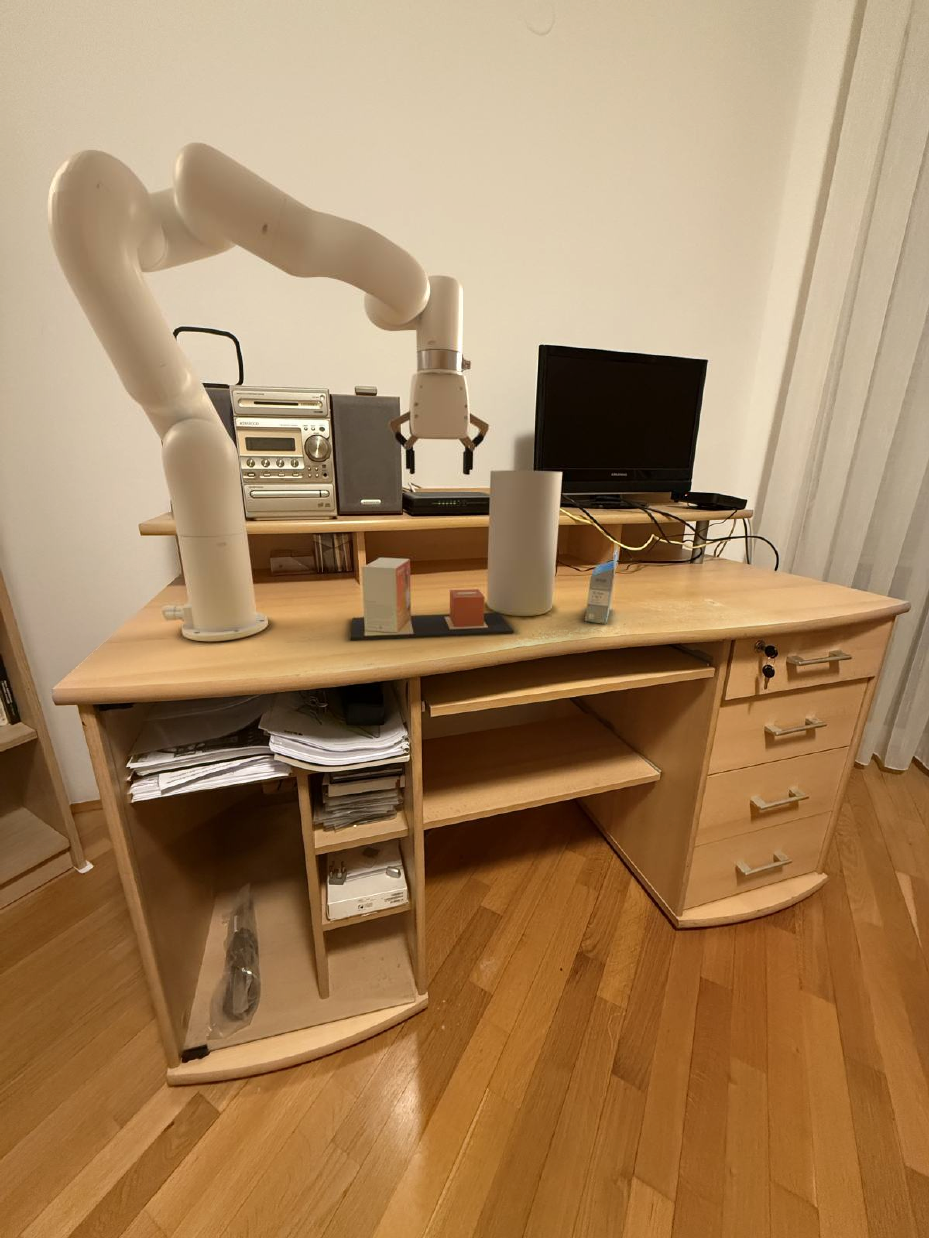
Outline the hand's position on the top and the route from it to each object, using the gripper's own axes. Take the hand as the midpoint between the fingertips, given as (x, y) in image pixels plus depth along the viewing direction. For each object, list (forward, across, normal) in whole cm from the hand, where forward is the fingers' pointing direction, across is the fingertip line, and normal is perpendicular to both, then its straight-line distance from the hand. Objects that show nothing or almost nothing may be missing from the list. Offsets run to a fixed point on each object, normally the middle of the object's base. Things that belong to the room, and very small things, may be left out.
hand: (439, 474), depth 86 cm
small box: (+24, +10, +12) cm, 29 cm away
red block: (+24, -3, +12) cm, 27 cm away
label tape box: (+24, -28, +10) cm, 39 cm away
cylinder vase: (+24, -15, +3) cm, 29 cm away
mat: (+24, +3, +12) cm, 27 cm away
